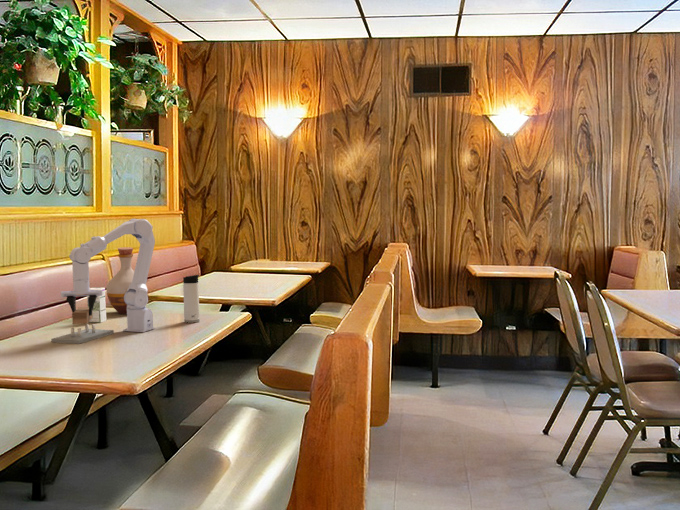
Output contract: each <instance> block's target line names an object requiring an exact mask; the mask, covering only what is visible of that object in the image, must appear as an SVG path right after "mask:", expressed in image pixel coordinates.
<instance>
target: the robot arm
mask: <svg viewBox="0 0 680 510" xmlns="http://www.w3.org/2000/svg"><path fill="white" fill-rule="evenodd" d="M153 227H154V226H153V225H152V224H151V223H150V221H149V220H148V219H145V218H138V219H137V218H131V219H129V220H127V221H124V222H123V223H121V224H120V225H118V226H117V227H115V228H113V229H112V230H111V231H109V232H107V233H106V234H105V235H103V236H100V235H97V236H91V237H90V240H88V241H87V242H85V243H80V244H79V246H80V247H79V246H78V247H74V248H73V249H72V250H70V252H69V253H70V254H69V255H68V256H69V257H68V258H69V259H70V260H71V262H72V263H71V264H72V267H71V268H72V290H67V291H60V298H66V302H67V304H68V305H69V307H70V309H71V312H72V313H73V312H74V311H75V310H77V308H76V307H77V305H76V303H77V301H76V300H77V297H87V296H90V297H88V302H89V316H91V315H92V310H93V306H94V303H95V300H96V298H97V296H102V290H90V288H91V287H90V286H91V285H90V284H91V283H90V268H89V261H91V259H92V258H93V257H95V256H96V255H98V254H99V253H101V252H103V251H104V250H106V249H107V247H108V244H111V242H114V241H116V240H117V239H119V238H121V237H123V236H125V235H131V236H133V237H135V238H136V240H137V241H138V243H139V248H138V254H137V257H136V258H137V259H136V262H135V268H134V276H133V280H132V283H131V284H130V285H129V287H128V290H127V292H126V293H125V295H124V301H125V303H126V304H127V314H126V321H127V322H126V323H127V324H126V326H127V328H125V329H122V331H123V332H134V333H135V332H136V333H145V332H148V331H150V330H154V329H155V327H154V316H153V315H154V313H153V310H152V309H151V308H147V304H148V303H149V296H148V292H149V289H148V286H147V287H146V285H147V282H148V281H147V280H148V276H149V271H150V267H151V262H152V258H153V253H154V248H155V244H156V241H155V240H156V239H155V235H154V232H153ZM87 294H88V295H87ZM89 294H90V295H89ZM72 313H71V314H72Z"/></svg>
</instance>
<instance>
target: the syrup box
mask: <svg viewBox="0 0 680 510" xmlns="http://www.w3.org/2000/svg"><path fill="white" fill-rule="evenodd" d="M90 290H102V296H97V298H96V300H95V303H94V306H93V310H92V312H93V318H92V319H91V320H90V321H89V322H88V323H93V324H94V323H103V322H106V321H107V309H106V308H107V304H106V288H105V287H90ZM86 295H88V294H86ZM89 295H90V294H89ZM86 297H87V301H86V302H87V307H89V302H88V297H90V296H86Z"/></svg>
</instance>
